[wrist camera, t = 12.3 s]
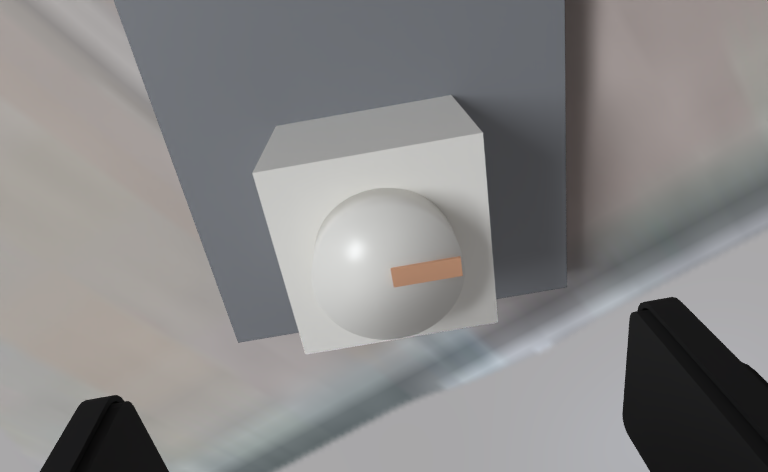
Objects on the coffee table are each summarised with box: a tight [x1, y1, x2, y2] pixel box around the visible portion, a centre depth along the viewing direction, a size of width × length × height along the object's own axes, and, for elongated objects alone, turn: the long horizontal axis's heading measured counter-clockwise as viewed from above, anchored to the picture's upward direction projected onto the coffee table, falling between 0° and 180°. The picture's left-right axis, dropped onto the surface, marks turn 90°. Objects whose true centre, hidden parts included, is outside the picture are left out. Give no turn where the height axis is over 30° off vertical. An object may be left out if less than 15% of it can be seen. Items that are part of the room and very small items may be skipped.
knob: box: [252, 95, 498, 355], centre depth 18 cm, size 7×7×7 cm
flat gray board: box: [114, 0, 567, 343], centre depth 18 cm, size 15×22×6 cm
